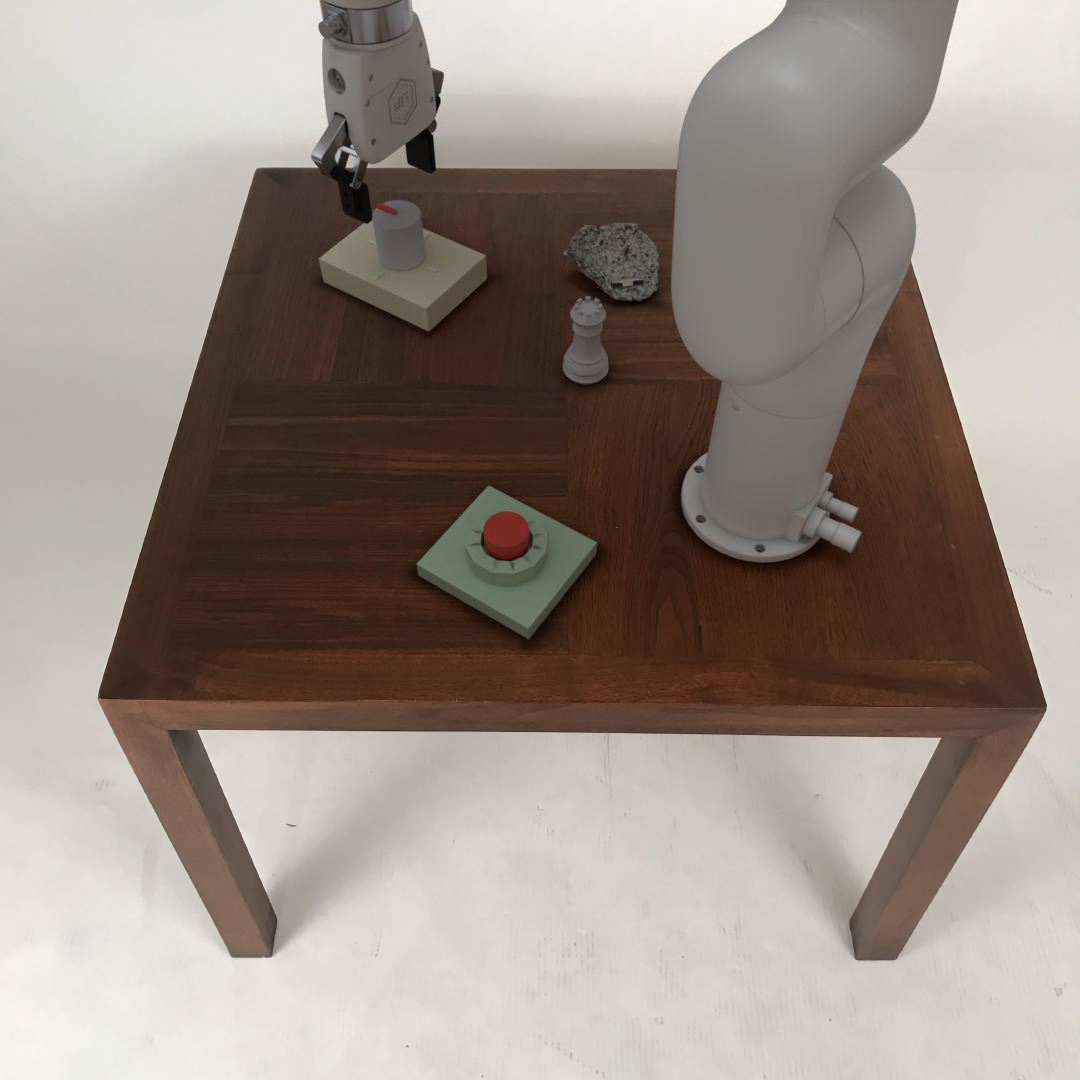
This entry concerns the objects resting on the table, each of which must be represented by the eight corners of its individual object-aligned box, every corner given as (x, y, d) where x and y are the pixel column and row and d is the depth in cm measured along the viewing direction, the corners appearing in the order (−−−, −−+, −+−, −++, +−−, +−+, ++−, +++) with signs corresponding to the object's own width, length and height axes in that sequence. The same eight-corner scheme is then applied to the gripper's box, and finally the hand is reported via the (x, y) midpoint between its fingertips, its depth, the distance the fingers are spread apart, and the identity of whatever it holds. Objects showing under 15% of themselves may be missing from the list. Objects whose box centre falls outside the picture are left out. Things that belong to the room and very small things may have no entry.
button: (538, 537, 79) (537, 524, 78) (512, 567, 77) (511, 554, 76) (501, 517, 80) (500, 504, 79) (475, 547, 78) (474, 534, 77)
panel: (487, 278, 103) (486, 253, 101) (429, 332, 98) (426, 307, 96) (384, 233, 108) (380, 208, 106) (323, 282, 103) (317, 257, 101)
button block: (596, 554, 82) (598, 528, 79) (528, 640, 77) (528, 616, 74) (489, 497, 86) (487, 471, 83) (418, 575, 81) (413, 550, 78)
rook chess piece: (604, 390, 93) (609, 324, 87) (558, 383, 94) (559, 318, 88) (611, 358, 96) (616, 292, 90) (566, 352, 97) (568, 286, 90)
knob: (435, 252, 101) (430, 207, 97) (405, 277, 99) (399, 232, 95) (398, 236, 103) (392, 191, 99) (369, 260, 100) (361, 215, 96)
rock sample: (614, 297, 95) (606, 205, 95) (564, 312, 101) (556, 226, 101) (688, 302, 102) (681, 216, 101) (636, 315, 108) (630, 235, 107)
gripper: (332, 69, 76) (362, 252, 90) (466, -18, 84) (474, 162, 98) (260, 41, 78) (301, 224, 92) (397, -41, 87) (415, 138, 101)
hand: (390, 192), depth 95 cm, fingers open, 9 cm apart
